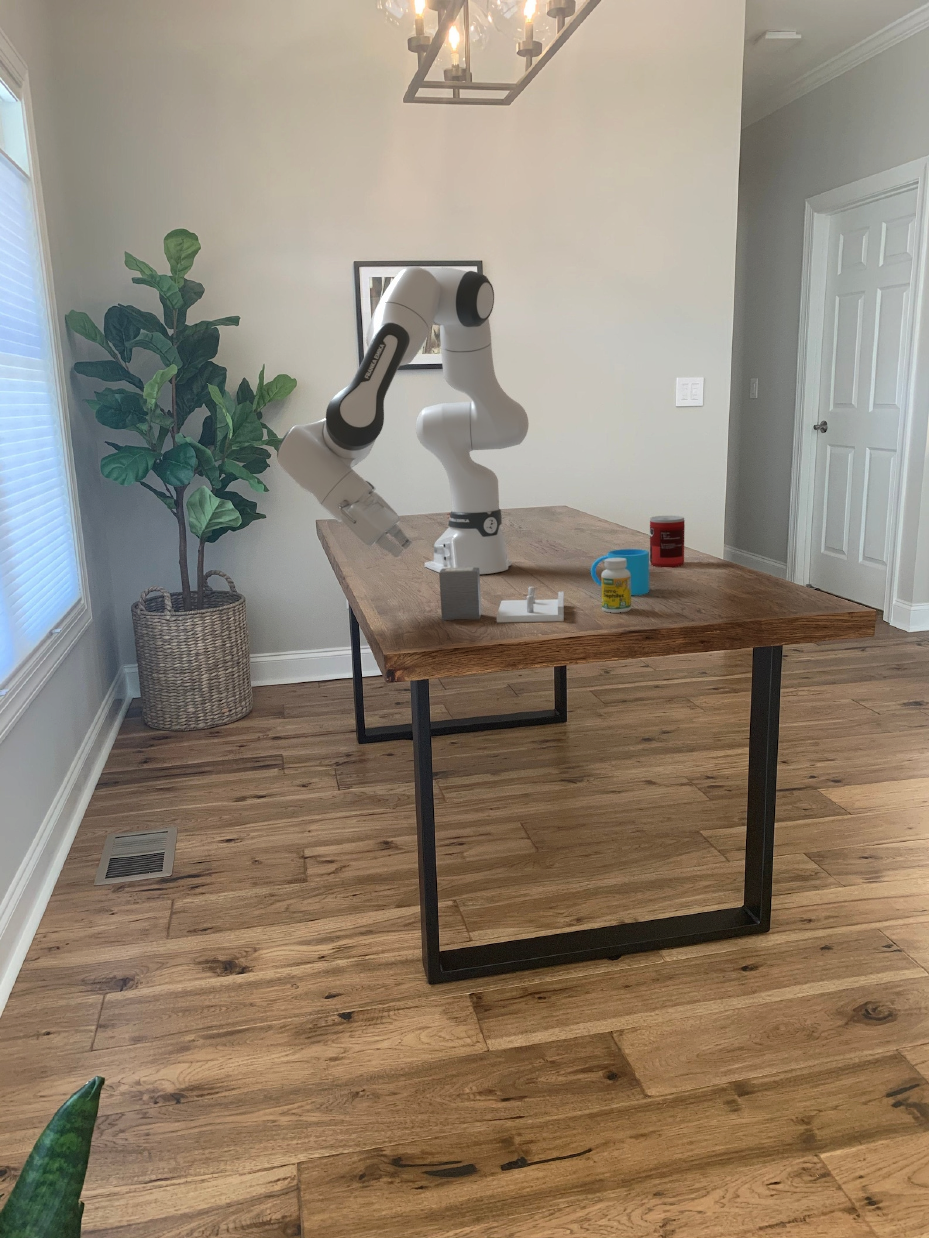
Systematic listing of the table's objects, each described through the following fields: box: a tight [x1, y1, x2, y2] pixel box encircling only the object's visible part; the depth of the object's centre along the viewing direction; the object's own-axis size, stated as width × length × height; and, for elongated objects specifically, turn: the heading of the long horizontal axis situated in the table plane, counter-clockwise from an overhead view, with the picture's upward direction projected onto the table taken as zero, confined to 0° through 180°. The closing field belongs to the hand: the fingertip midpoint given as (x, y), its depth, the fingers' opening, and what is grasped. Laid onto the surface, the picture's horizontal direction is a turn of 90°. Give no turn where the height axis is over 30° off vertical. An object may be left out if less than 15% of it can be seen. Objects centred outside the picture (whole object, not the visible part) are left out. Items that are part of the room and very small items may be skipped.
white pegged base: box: [496, 586, 565, 623], centre depth 172 cm, size 12×13×4 cm
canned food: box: [649, 515, 686, 568], centre depth 213 cm, size 8×8×11 cm
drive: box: [438, 567, 482, 621], centre depth 171 cm, size 7×4×9 cm, turn 84°
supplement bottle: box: [600, 558, 632, 614], centre depth 171 cm, size 5×5×10 cm
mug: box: [590, 548, 650, 596], centre depth 187 cm, size 12×8×8 cm
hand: (405, 550), depth 170 cm, fingers open, 8 cm apart
